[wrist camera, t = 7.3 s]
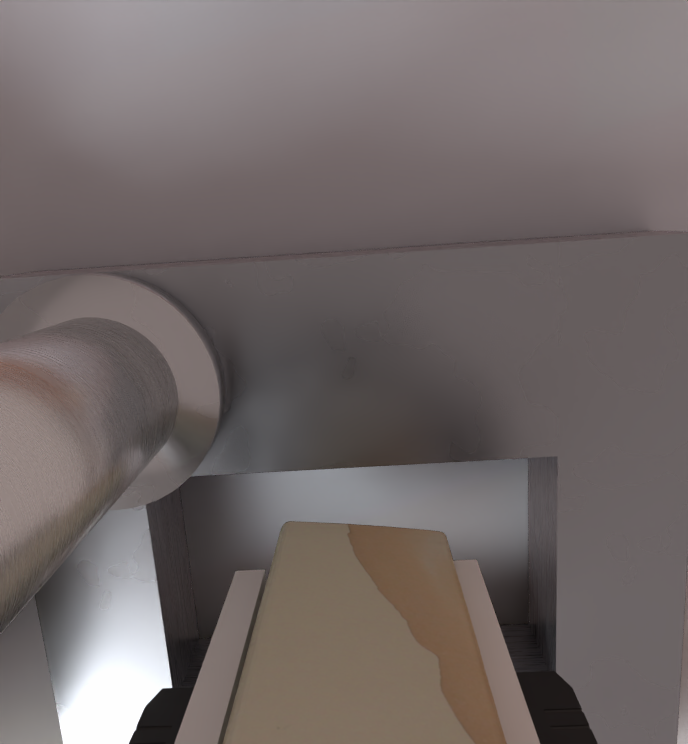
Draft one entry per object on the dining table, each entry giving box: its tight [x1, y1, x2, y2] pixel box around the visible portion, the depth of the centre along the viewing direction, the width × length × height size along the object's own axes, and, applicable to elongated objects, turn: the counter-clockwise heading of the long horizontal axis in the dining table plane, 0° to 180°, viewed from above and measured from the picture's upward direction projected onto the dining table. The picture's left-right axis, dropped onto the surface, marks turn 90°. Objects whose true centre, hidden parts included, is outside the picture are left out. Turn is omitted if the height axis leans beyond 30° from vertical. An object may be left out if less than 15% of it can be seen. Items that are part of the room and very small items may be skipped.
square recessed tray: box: [0, 231, 688, 744], centre depth 19 cm, size 18×18×3 cm
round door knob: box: [0, 273, 225, 635], centre depth 14 cm, size 6×6×12 cm
